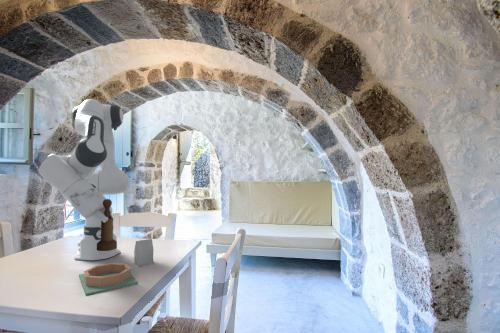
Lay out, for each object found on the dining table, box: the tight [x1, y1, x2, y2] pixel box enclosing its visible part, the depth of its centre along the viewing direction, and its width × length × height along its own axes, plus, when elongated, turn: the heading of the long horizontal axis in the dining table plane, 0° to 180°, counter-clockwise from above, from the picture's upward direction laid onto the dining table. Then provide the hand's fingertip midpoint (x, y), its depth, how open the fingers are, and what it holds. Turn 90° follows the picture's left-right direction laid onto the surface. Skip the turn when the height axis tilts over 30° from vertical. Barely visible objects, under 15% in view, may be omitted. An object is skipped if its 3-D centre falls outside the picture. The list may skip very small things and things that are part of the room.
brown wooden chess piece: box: [97, 198, 118, 251], centre depth 104 cm, size 7×6×18 cm
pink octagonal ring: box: [83, 262, 132, 287], centre depth 104 cm, size 14×14×3 cm
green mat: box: [78, 272, 139, 296], centre depth 104 cm, size 20×16×1 cm
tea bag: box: [133, 238, 154, 267], centre depth 122 cm, size 4×7×10 cm, turn 130°
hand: (109, 219), depth 104 cm, fingers closed on brown wooden chess piece, 4 cm apart
